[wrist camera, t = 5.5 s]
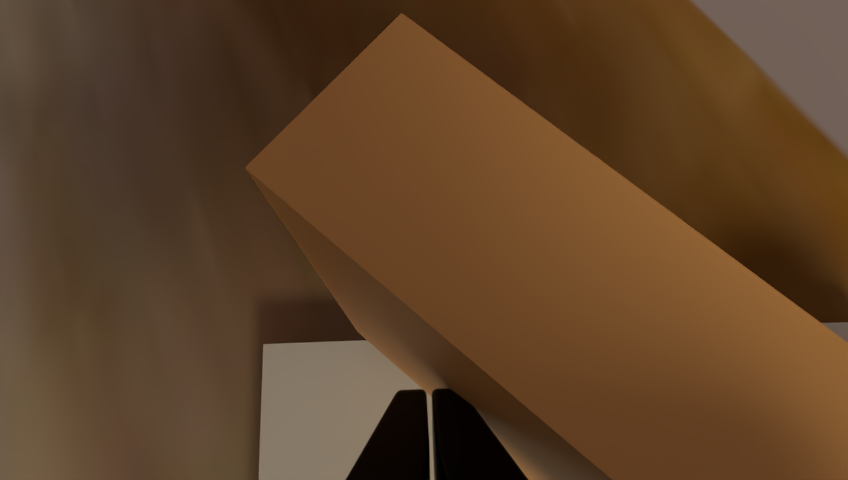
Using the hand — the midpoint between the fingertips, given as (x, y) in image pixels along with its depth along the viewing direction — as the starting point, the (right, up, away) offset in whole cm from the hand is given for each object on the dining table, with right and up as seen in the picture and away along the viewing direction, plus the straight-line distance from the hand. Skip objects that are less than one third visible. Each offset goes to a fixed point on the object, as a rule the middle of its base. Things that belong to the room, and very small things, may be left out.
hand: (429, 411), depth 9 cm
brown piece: (+5, -4, +5) cm, 8 cm away
